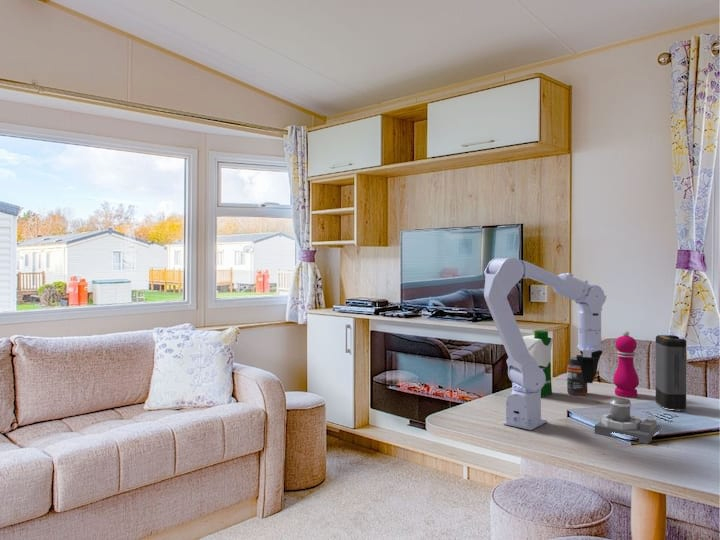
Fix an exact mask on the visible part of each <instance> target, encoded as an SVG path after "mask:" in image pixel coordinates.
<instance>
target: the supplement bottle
mask: <svg viewBox="0 0 720 540" xmlns="http://www.w3.org/2000/svg"><path fill="white" fill-rule="evenodd" d="M566 382H567V383H566V390H567V391H566V392H567V393H568V394H569V395H571V396H585V395H587V394H588V383H584V381H583V376H582V371H581V367H580V365H579V362H578V360H577V358H576V356H573V357H570V358H569V364H568V365H567V366H566Z"/></svg>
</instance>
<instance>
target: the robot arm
mask: <svg viewBox="0 0 720 540" xmlns="http://www.w3.org/2000/svg"><path fill="white" fill-rule="evenodd" d="M483 273H484V277H485V281H484V288H483V289H484V290H483V297H484V300H485V303H486V305H487V308H488V310H489V313H490V315H491V317H492V318H491V319H493V322H494V324H495V328H496V330H497V332H498V335H499V336H500V339H501V340H500V341H501V342H502V345H503V348H504V350H505V353H506V354H507V357H508V358H507V359H506V364H507V375H508V378H509V380H510V381H511V385H512V386H511V393H510V394H509V395H508V396H507V399H506V402H505V411H506V412H505V415H506V417H505V421H502V424H503V425H506V426H511V427H515V428H516V427H517V428H521V429H524V430H528V431H529V430H530V431H532V430H534V429H536V428H538V427H540V426H541V425H543V424H546V423H547V422H548V420H547V419H545V418H542V397H541V388H542V387H543V386H544V384H545V381H546V376H545V373H544V371H543V370H542V369H541V368H539V367H538V365H537V363H536V361H535V359H534V358H533V357H532V356H531V355H530V354H529V352H528V350H527V347H526V345H525V342H524V340H523V336H522V332H521V330H520V327H519V325H518V322H517V320H516V317H515V315H514V312H513V310H512V307H511V305H510V302H509V300H508V296H509V294H510V291H511V290H512V288H513V287H515V286H516V285H517V283H519V282H520V280H522V279H524V280H525V279H530V280H533V281H536V282H539V283H542V284H545V285H547V286H549V287H551V289H552V290H553V292H554V293H555V294H557V295H559V296H562V297H564V298H566V299H569V300H571V301H574V302H575V303H576V304H577V318H578V319H577V323H578V325H577V340H578V341H577V345H576V346H577V349H579V350H580V354H577V355H576V356H575V357H576V358H577V360H578V362H579V365H580V367H581V371H582V376H583V381H584V383H587V384H593V383H594V379H595V377H596V376H597V372H598V371H597V370H598V365H599V361H600V359H601V356H602V354H603V351H604V350H606V349H607V346H606V345H602V311H603V305H604V304H605V303H606V300H607V295H605V292H604V289H602V287H601V286H599V285H598V284H597V285H595V284H589V281H588V280H586V279H579V278H577V277H574V274H573V273H571V272H566V273H560V274H558V275H557V274H555V273H553V272H550V271H548V270H547V269H545V268H542V267H540V266H539V265H538V266H537V265H536V264H533V263H531V262H529V261H527V260H522V259H518V258H516V257H508V258H507V257H505V258H504V257H503V258H502V257H494V258H492V259H491V260H490V261H489V262H488V264H487V266H486V268H485V269H484V272H483Z"/></svg>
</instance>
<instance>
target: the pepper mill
mask: <svg viewBox="0 0 720 540" xmlns="http://www.w3.org/2000/svg"><path fill="white" fill-rule="evenodd" d="M637 344H638V343H637V340H636V339H635V338H634V337H632V336H630V332H629V331H627V330H624V331H623V332H622V335H621V336H618V337H617V338H616V340H615V345H614V347H615V348H616V349H617V351H616V353H617V354H616V356H617V357H618V363H617V367H616V370H615V372H614V375H613V379H612V382H613V384H614V385H615V386H616V387H615V388H614V395H616V396H617V397H620V398H636V397H637V396H638V390H637V387H638V386H639V384H640V379H639V375H638V373H637V371H636V368H635V365H634V358H635V357H636V355H635V354H636V352H635V350H636V349H637V347H638V345H637Z"/></svg>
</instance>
